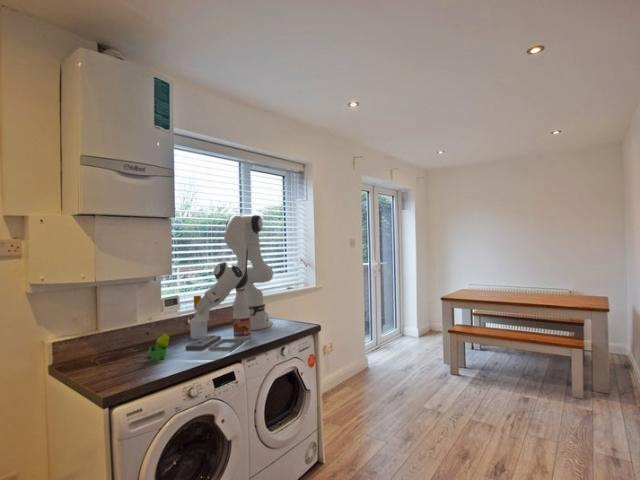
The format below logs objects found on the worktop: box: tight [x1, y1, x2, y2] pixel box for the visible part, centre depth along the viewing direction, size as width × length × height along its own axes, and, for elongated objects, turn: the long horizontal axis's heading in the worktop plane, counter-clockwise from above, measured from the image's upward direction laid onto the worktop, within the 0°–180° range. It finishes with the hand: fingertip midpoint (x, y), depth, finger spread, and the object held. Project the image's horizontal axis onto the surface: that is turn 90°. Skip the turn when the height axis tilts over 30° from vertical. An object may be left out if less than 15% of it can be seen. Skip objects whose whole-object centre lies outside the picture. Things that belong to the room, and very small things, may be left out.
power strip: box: [185, 334, 222, 351], centre depth 192 cm, size 20×9×4 cm, turn 169°
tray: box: [207, 338, 244, 353], centre depth 187 cm, size 16×12×2 cm
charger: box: [196, 308, 210, 325], centre depth 188 cm, size 4×4×10 cm
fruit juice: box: [232, 288, 252, 341], centre depth 204 cm, size 9×9×28 cm
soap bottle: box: [189, 295, 208, 340], centre depth 210 cm, size 9×9×25 cm
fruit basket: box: [148, 333, 170, 363], centre depth 175 cm, size 11×9×11 cm
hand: (201, 312), depth 188 cm, fingers closed on charger, 4 cm apart
